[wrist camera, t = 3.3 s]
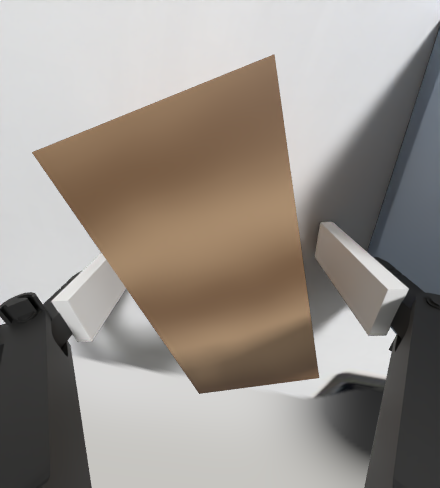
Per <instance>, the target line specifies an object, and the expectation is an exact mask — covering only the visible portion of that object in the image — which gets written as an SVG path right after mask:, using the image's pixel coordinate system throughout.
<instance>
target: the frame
mask: <svg viewBox="0 0 440 488" xmlns="http://www.w3.org/2000/svg"><path fill="white" fill-rule="evenodd" d="M367 252H368V253H369V254H370V255H371V256H372V257H379V258H381V259H383V260H385V261H387V262H389V263H390V264H391V265H392V266H394V267H395V268H396V270H398V271H400V272H401V273H402V275H404V276H406V277H407V278H408V279H409V280H410V281H412V282H413V283H414V284H415V285H417V286H418V287H419V288H420V289H421V290H423V291H424V292H425V293H433V294H437V295H440V28H439V31H438V35H437V38H436V41H435V44H434V47H433V50H432V53H431V56H430V59H429V62H428V66H427V69H426V72H425V75H424V78H423V81H422V84H421V87H420V90H419V93H418V96H417V100H416V103H415V106H414V109H413V112H412V115H411V118H410V121H409V124H408V127H407V130H406V134H405V137H404V140H403V143H402V146H401V149H400V152H399V155H398V158H397V161H396V164H395V168H394V171H393V174H392V177H391V180H390V183H389V186H388V189H387V192H386V195H385V198H384V202H383V205H382V208H381V211H380V214H379V217H378V220H377V223H376V226H375V229H374V232H373V236H372V239H371V242H370V245H369V248H368V251H367ZM391 328H392V327H391ZM392 330H393V331H394V332H395V330H394V329H393V328H392ZM395 333H396V332H395ZM396 334H397V333H396Z"/></svg>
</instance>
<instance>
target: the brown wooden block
mask: <svg viewBox="0 0 440 488" xmlns="http://www.w3.org/2000/svg"><path fill="white" fill-rule="evenodd" d="M32 153H33V155H34V156H35V158H36V159H37V160H38V162H39V163H40V165H41V166H42V168H43V169H44V170H45V172H46V173H47V175H48V176H49V178H50V179H51V181H52V182H53V183H54V185H55V186H56V188H57V189H58V191H59V192H60V194H61V195H62V196H63V198H64V199H65V201H66V202H67V204H68V205H69V207H70V208H71V209H72V211H73V212H74V214H75V215H76V217H77V218H78V220H79V221H80V222H81V224H82V225H83V227H84V228H85V230H86V231H87V232H88V234H89V235H90V237H91V238H92V240H93V241H94V243H95V244H96V245H97V247H98V248H99V250H100V251H101V253H102V254H103V256H104V257H105V258H106V260H107V261H108V263H109V264H110V266H111V267H112V269H113V270H114V271H115V273H116V274H117V276H118V277H119V279H120V280H121V282H122V283H123V284H124V286H125V287H126V289H127V290H128V292H129V293H130V294H131V296H132V297H133V299H134V300H135V302H136V303H137V305H138V306H139V307H140V309H141V310H142V312H143V313H144V315H145V316H146V318H147V319H148V320H149V322H150V323H151V325H152V326H153V328H154V329H155V331H156V332H157V333H158V335H159V336H160V338H161V339H162V341H163V342H164V344H165V345H166V346H167V348H168V349H169V351H170V352H171V354H172V355H173V356H174V358H175V359H176V361H177V362H178V364H179V365H180V367H181V368H182V369H183V371H184V372H185V374H186V375H187V377H188V378H189V380H190V381H191V382H192V384H193V385H194V387H195V388H196V390H197V391H198V393H199V394H200V393H208V392H216V391H224V390H231V389H239V388H247V387H254V386H262V385H269V384H277V383H285V382H292V381H300V380H307V379H315V378H319V373H318V366H317V359H316V351H315V344H314V337H313V330H312V322H311V315H310V308H309V301H308V294H307V286H306V279H305V272H304V265H303V258H302V250H301V243H300V236H299V229H298V221H297V214H296V207H295V200H294V193H293V185H292V178H291V171H290V164H289V156H288V149H287V142H286V135H285V128H284V120H283V113H282V106H281V99H280V92H279V84H278V77H277V70H276V63H275V55H272V56H269V57H267V58H264V59H262V60H259V61H257V62H254V63H252V64H249V65H247V66H244V67H242V68H239V69H237V70H234V71H232V72H229V73H227V74H225V75H222V76H220V77H217V78H215V79H212V80H210V81H207V82H205V83H202V84H200V85H197V86H195V87H192V88H190V89H187V90H185V91H183V92H180V93H178V94H175V95H173V96H170V97H168V98H165V99H163V100H160V101H158V102H155V103H153V104H150V105H148V106H145V107H143V108H141V109H138V110H136V111H133V112H131V113H128V114H126V115H123V116H121V117H118V118H116V119H113V120H111V121H108V122H106V123H103V124H101V125H98V126H96V127H94V128H91V129H89V130H86V131H84V132H81V133H79V134H76V135H74V136H71V137H69V138H66V139H64V140H61V141H59V142H56V143H54V144H52V145H49V146H47V147H44V148H42V149H39V150H37V151H34V152H32Z"/></svg>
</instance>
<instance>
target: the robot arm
mask: <svg viewBox="0 0 440 488" xmlns="http://www.w3.org/2000/svg"><path fill="white" fill-rule="evenodd" d="M314 257H315V258H316V260H317V261H318V263H319V264H320V266H321V267H322V268H323V270H324V271H325V273H326V274H327V276H328V277H329V279H330V280H331V282H332V283H333V285H334V286H335V287H336V289H337V290H338V292H339V293H340V295H341V296H342V298H343V299H344V301H345V302H346V304H347V305H348V306H349V308H350V309H351V311H352V312H353V314H354V315H355V317H356V318H357V320H358V321H359V323H360V324H361V325H362V327H363V328H364V330H365V331H366V333H367V334H368V336H384V335H387V333H388V331H389V329H390V327H392V328H393V329H394V330H395V332H396V333H397V335H396V337H395V339H394V341H393V343H392V344H391V346H390V348H389V350H390V351H392V353H391V358H390V363H389V368H388V373H387V378H386V383H385V388H384V393H383V398H382V403H381V408H380V413H379V418H378V423H377V428H376V433H375V438H374V443H373V447H372V452H371V457H370V462H369V468H368V473H367V477H366V483H365V488H440V295H437V294H433V293H425V292H424V291H423V290H421V289H420V288H419V287H418V286H417V285H415V284H414V283H413V282H412V281H410V280H409V279H408V278H407V277H406V276H404V275H402V273H401V272H400V271H398V270H396V268H395V267H394V266H392V265H391V264H390V263H389V262H387V261H385V260H383V259H381V258H379V257H372V256H371V255H370V254H369V253H368V252H366V251H365V250H364V249H363V248H362V247H361V246H360V245H358V244H357V243H356V242H355V241H354V240H353V239H352V238H350V237H349V236H348V235H347V234H346V233H345V232H344V231H342V230H341V229H340V228H339V227H338V226H337V225H336V224H334V223H333V222H320V228H319V234H318V239H317V245H316V251H315V256H314ZM125 289H126V287H125V286H124V284H123V283H122V282H121V280H120V279H119V277H118V276H117V274H116V273H115V271H114V270H113V269H112V267H111V266H110V264H109V263H108V261H107V260H106V258H105V257H104V256H103V254H102V253H100V254H99V255H98V256H97V257H96V258H95V259H94V260H93V261H92V262H91V263H90V264H89V265H88V266H87V267H86V268H85V269H84V270H83V271H81V272H79V273H77V274H76V275H74V276H73V277H72V278H70V279H69V280H68V281H67V282H66V284H64V285H63V286H62V287H61V289H59V290H58V291H57V292H56V293H55V294H54V295H53V296H51V297H50V298H49V299H48V300H47V301H46V302H45V303H44V304H42V303H41V301H40V300H39V298H38V297H37V296H36V294H35V293H32V292H30V293H24V294H20V295H17V296H15V297H13V298H11V299H9V300H7V301H6V302H4V303H3V304H2V305H0V317H1V318H2V319H3V320H4V322H5V323H6V324H3V325H0V488H92V487H91V480H90V474H89V467H88V460H87V453H86V447H85V441H84V434H83V427H82V420H81V413H80V406H79V400H78V393H77V387H76V380H75V373H74V366H73V360H72V353H71V346H70V344H69V342H68V341H67V340H68V339H69V338H70V336H71V335H72V334H73V336H74V337H75V339H76V340H77V342H91V341H93V339H94V338H95V336H96V335H97V333H98V332H99V330H100V328H101V327H102V325H103V324H104V322H105V321H106V319H107V317H108V316H109V314H110V313H111V311H112V310H113V308H114V307H115V305H116V303H117V302H118V300H119V299H120V297H121V296H122V294H123V292H124V291H125Z"/></svg>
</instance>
